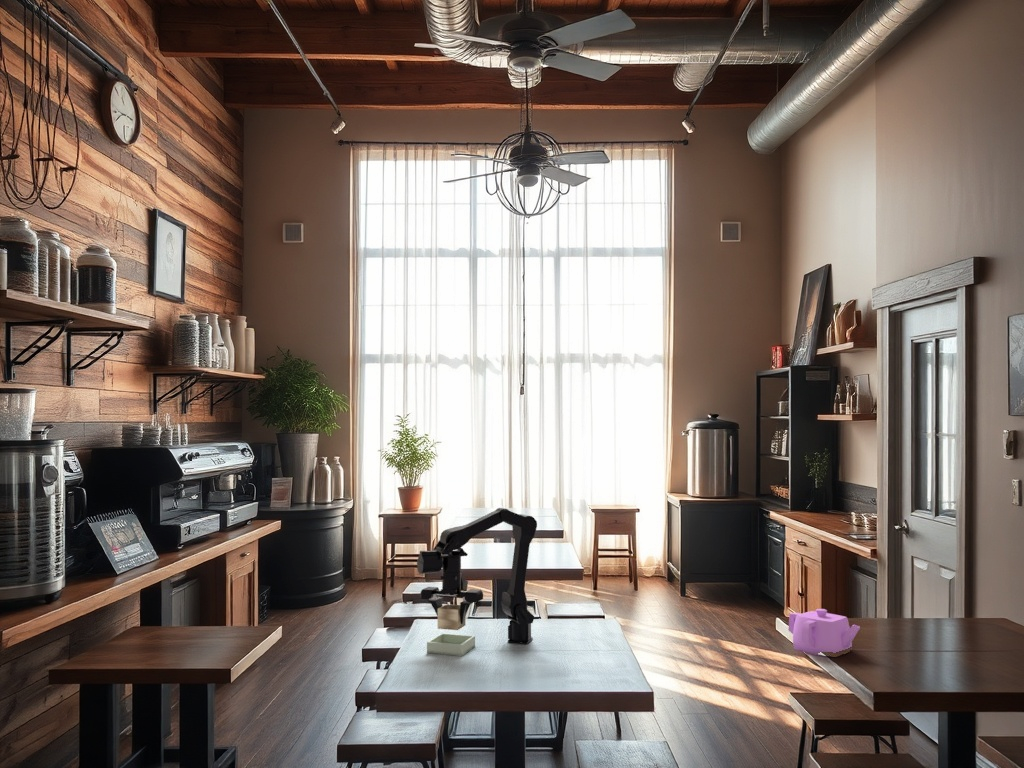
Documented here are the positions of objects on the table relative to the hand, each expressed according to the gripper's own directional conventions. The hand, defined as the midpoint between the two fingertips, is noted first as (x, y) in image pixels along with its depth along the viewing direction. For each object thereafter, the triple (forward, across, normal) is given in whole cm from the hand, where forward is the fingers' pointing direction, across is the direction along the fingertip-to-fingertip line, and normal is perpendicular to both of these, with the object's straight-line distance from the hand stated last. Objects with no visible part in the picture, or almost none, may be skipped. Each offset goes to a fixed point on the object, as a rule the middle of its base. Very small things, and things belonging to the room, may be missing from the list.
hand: (451, 623), depth 249 cm
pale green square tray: (+8, 0, 0) cm, 8 cm away
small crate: (+1, 0, 0) cm, 1 cm away
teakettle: (+9, -108, -33) cm, 113 cm away
